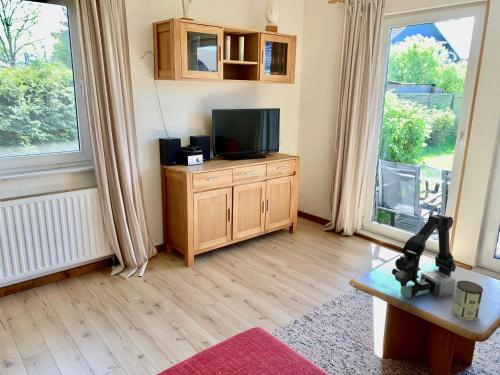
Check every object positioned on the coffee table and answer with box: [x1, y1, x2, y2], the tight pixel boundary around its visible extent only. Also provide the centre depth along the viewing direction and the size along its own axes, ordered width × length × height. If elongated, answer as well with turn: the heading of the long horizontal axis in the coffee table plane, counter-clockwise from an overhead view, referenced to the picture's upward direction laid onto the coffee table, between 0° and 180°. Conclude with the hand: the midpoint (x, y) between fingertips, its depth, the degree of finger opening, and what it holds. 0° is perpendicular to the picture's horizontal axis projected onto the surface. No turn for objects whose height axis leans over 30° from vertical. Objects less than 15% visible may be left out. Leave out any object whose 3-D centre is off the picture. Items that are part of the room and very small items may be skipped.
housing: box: [419, 269, 457, 299], centre depth 186 cm, size 11×12×8 cm
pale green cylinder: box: [400, 283, 429, 299], centre depth 180 cm, size 13×6×6 cm, turn 113°
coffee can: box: [451, 280, 484, 321], centre depth 165 cm, size 10×10×14 cm
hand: (407, 294), depth 179 cm, fingers closed on pale green cylinder, 6 cm apart
